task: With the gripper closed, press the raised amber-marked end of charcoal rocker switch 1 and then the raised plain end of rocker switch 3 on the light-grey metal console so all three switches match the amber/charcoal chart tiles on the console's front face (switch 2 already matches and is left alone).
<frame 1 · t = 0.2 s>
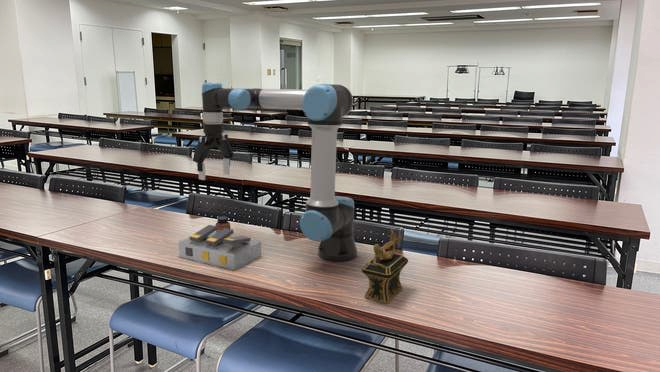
hand: (214, 176, 186), 28 cm above the table, fingers open, 13 cm apart
supplement bottle: (223, 244, 190), on the table
switch 1: (237, 240, 171), point 8 cm above the table, hinge at 10.0°
switch 3: (203, 232, 178), point 8 cm above the table, hinge at -10.0°
switch 2: (219, 236, 175), point 8 cm above the table, hinge at -10.0°
console: (220, 256, 177), on the table
decorative box: (386, 292, 150), on the table
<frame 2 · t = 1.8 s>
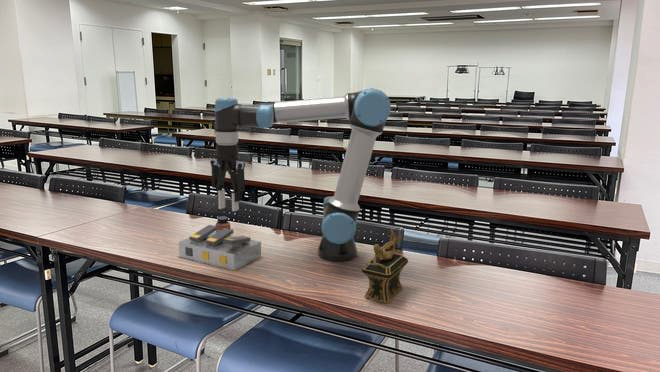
hand: (228, 209, 165), 21 cm above the table, fingers open, 5 cm apart
nothing on the table moved.
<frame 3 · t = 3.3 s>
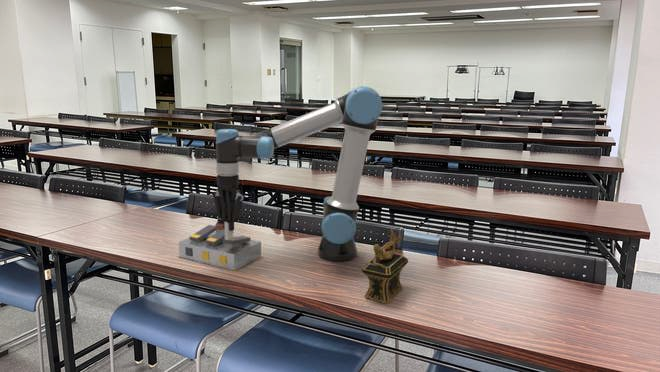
hand: (228, 238, 167), 10 cm above the table, fingers closed
switch 1: (237, 240, 171), point 8 cm above the table, hinge at 9.8°, touching gripper
everything else where it was.
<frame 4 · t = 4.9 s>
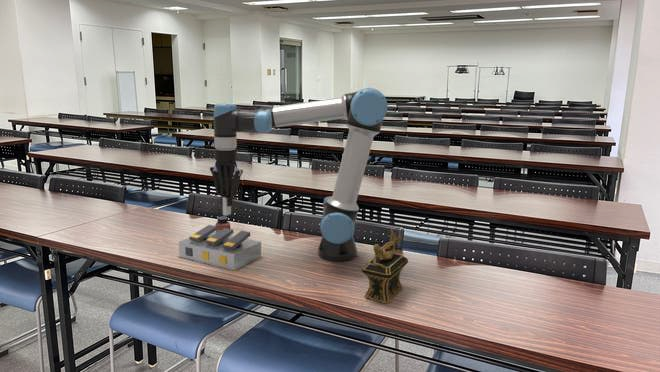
hand: (227, 214, 166), 19 cm above the table, fingers closed
switch 1: (237, 240, 171), point 8 cm above the table, hinge at -13.7°
everything else where it was.
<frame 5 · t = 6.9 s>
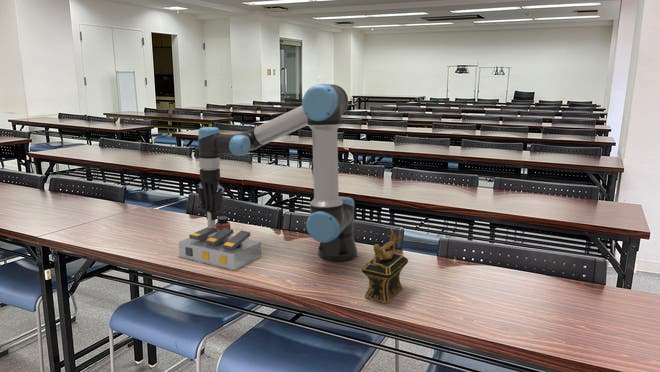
hand: (211, 227, 182), 9 cm above the table, fingers closed
switch 1: (237, 240, 171), point 8 cm above the table, hinge at -14.1°, touching console
switch 3: (203, 232, 178), point 8 cm above the table, hinge at -1.9°, touching gripper
everything else where it was.
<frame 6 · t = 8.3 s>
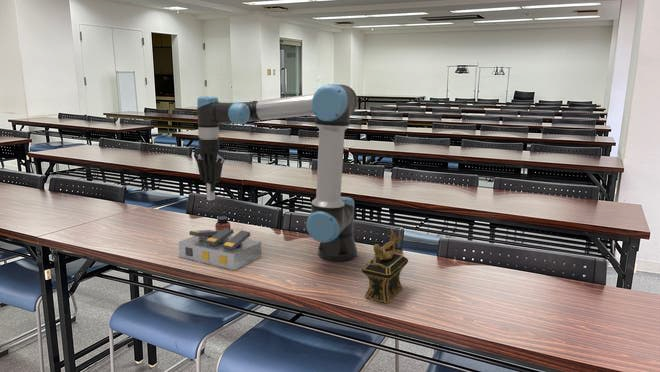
hand: (211, 199, 180), 20 cm above the table, fingers closed
switch 3: (203, 232, 178), point 8 cm above the table, hinge at 12.7°
everything else where it was.
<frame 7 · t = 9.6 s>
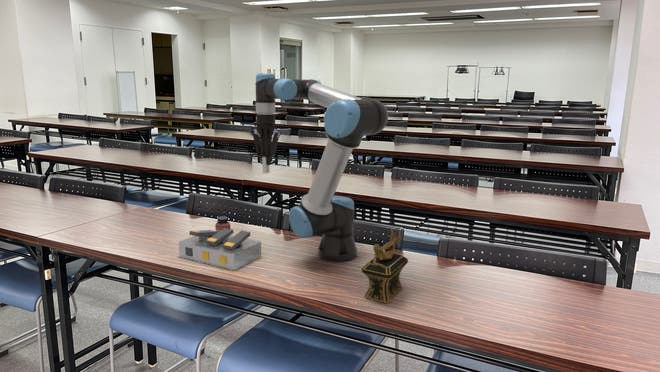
hand: (266, 172, 188), 29 cm above the table, fingers closed
switch 3: (203, 232, 178), point 8 cm above the table, hinge at 13.1°
everything else where it was.
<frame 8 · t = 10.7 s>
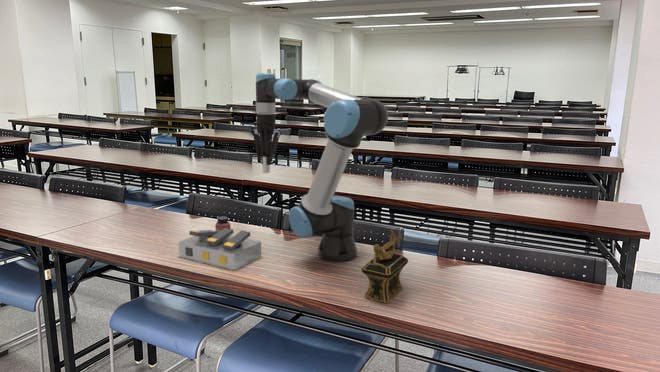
hand: (266, 172, 188), 29 cm above the table, fingers closed
nothing on the table moved.
at the end: switch 1 at -14° (first picture: +10°); switch 2 at -10° (first picture: -10°); switch 3 at +13° (first picture: -10°) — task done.
